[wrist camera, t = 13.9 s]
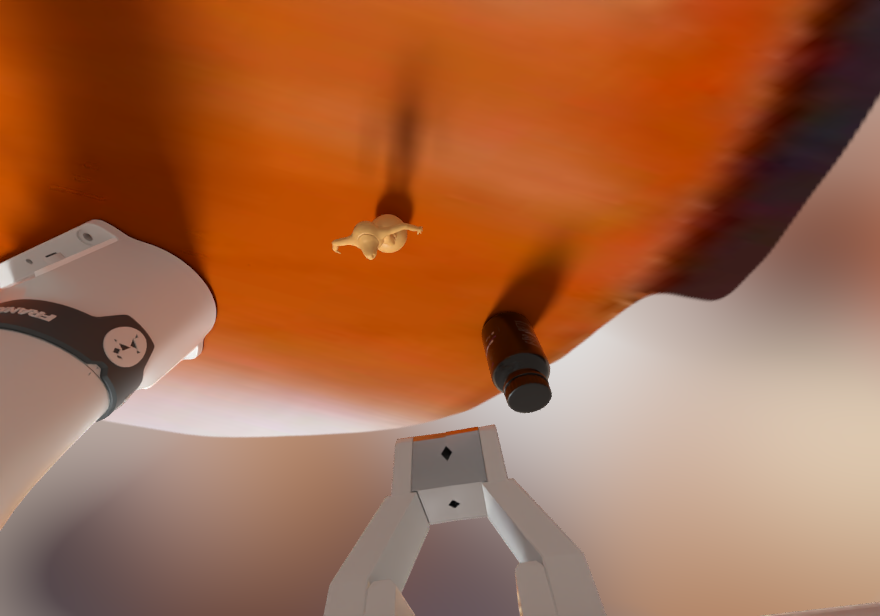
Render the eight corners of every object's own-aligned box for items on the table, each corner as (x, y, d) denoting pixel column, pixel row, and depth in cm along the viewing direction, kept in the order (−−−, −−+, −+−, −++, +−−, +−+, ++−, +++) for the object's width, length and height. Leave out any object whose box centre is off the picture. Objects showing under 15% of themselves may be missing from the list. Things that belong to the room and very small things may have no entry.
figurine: (360, 252, 37) (337, 308, 27) (340, 200, 34) (305, 241, 24) (430, 235, 36) (433, 285, 26) (416, 181, 33) (413, 214, 23)
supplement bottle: (473, 321, 43) (488, 388, 33) (521, 302, 42) (553, 365, 32) (490, 356, 47) (509, 426, 36) (536, 339, 45) (568, 407, 35)
